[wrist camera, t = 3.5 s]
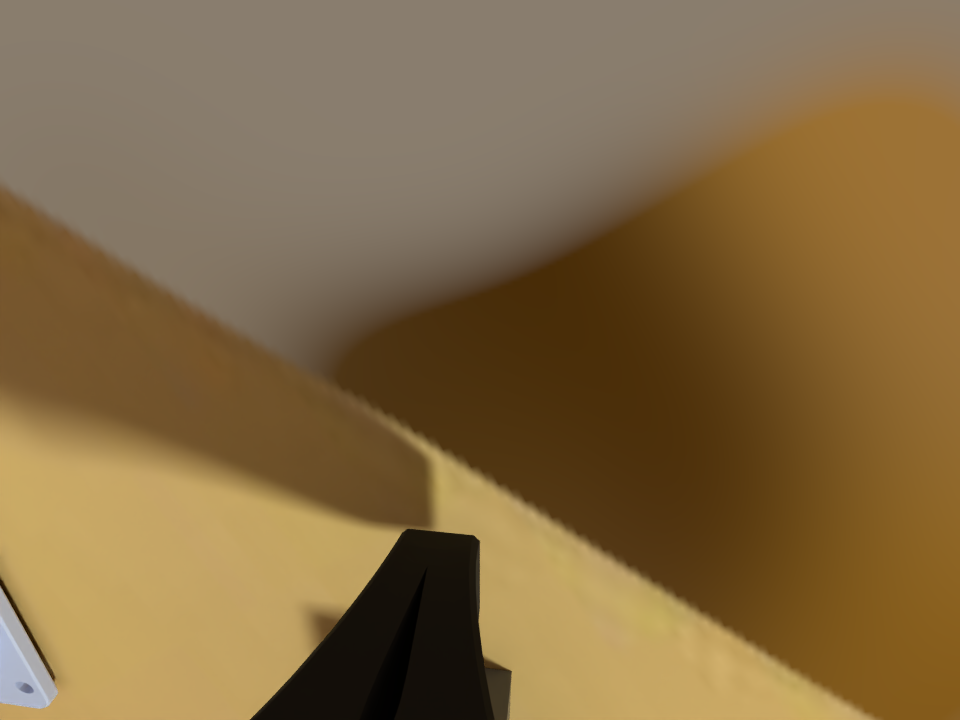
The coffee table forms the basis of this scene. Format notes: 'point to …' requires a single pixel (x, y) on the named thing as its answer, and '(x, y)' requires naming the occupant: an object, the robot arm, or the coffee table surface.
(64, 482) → the coffee table surface
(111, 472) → the coffee table surface
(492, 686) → the plug
